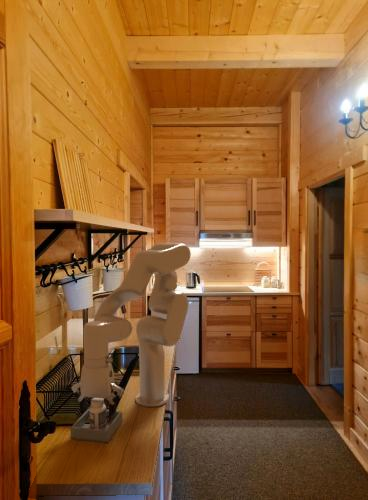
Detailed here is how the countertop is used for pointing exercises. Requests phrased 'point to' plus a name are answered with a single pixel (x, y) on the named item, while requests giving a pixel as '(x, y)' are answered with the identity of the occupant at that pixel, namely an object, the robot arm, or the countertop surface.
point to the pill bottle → (97, 414)
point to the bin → (103, 436)
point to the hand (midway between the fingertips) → (97, 413)
